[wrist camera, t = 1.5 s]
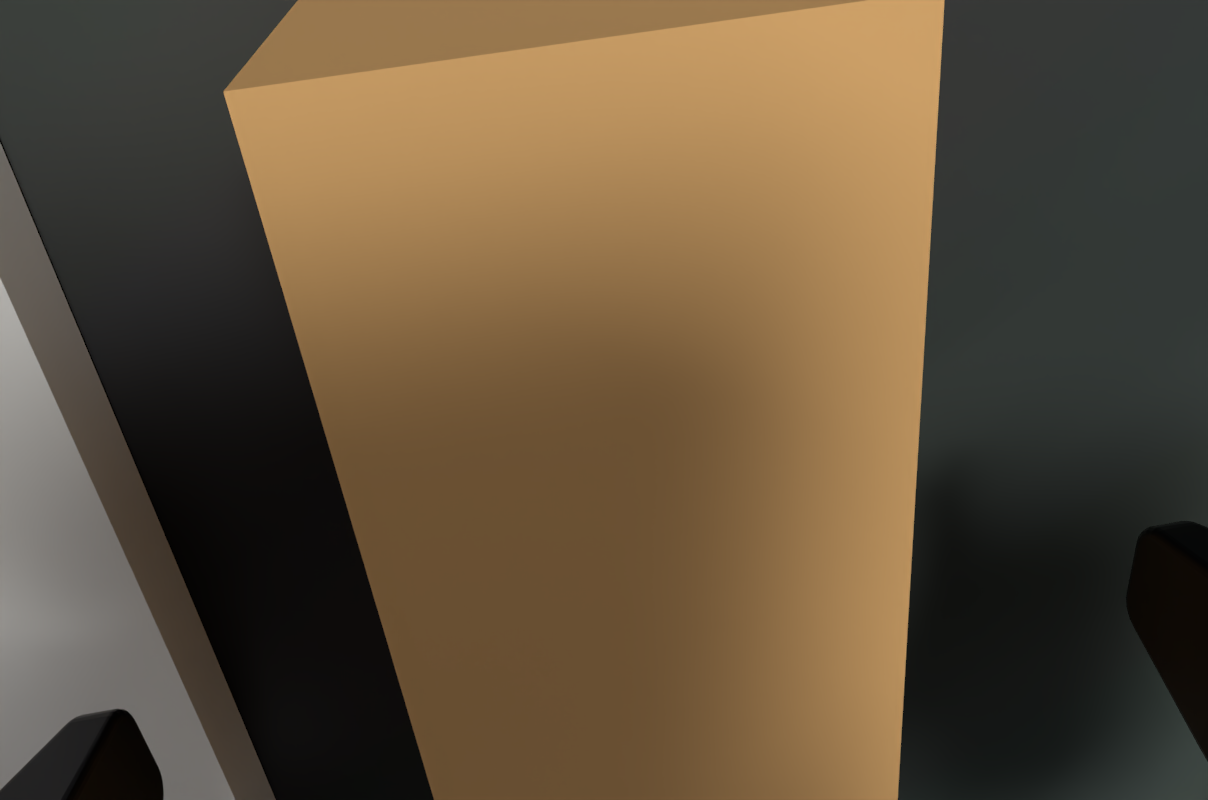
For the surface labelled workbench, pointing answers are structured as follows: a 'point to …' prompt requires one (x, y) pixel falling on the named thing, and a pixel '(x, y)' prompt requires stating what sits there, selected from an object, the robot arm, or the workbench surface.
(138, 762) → the robot arm
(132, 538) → the board
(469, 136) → the two-tone rectangular block
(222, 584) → the workbench surface
